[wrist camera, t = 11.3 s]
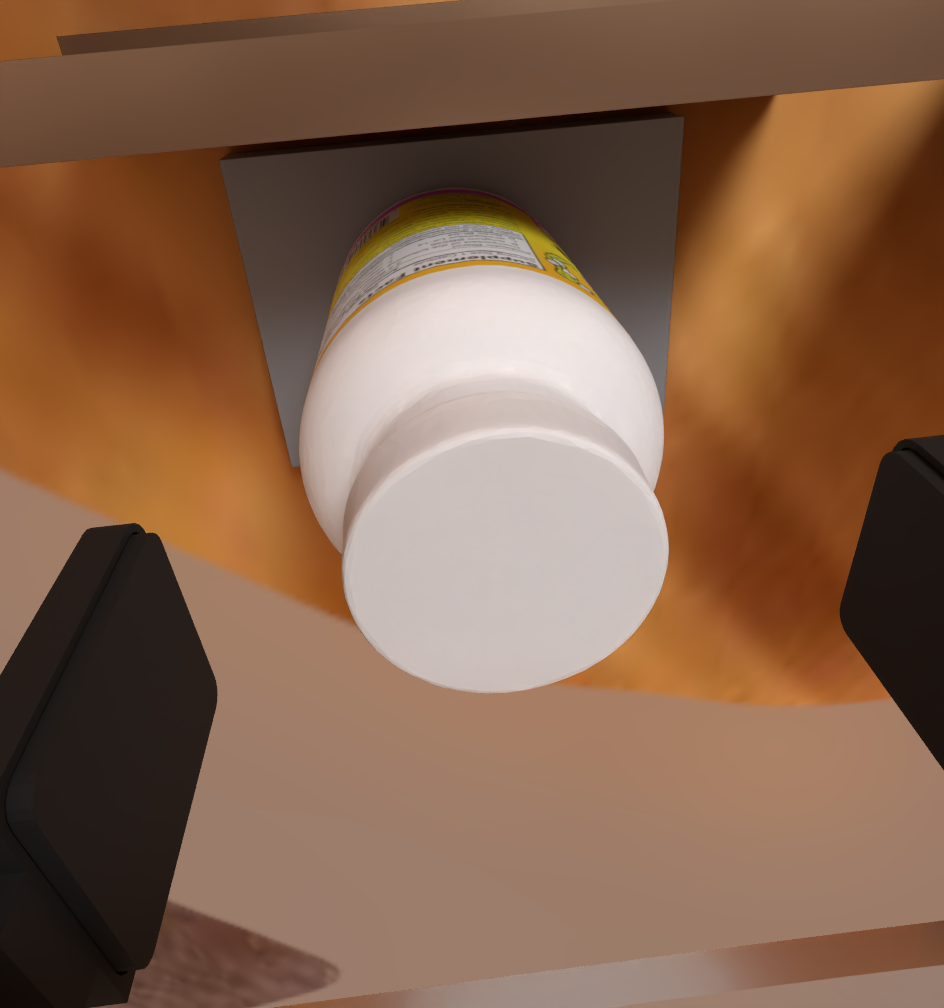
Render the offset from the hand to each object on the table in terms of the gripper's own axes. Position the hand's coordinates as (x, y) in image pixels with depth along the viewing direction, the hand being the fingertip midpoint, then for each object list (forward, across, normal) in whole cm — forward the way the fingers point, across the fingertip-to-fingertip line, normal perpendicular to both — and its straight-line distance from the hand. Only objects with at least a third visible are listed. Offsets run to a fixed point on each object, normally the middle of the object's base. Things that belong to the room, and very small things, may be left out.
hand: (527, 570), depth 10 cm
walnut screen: (+15, 0, -5) cm, 15 cm away
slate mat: (+14, 0, +1) cm, 14 cm away
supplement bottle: (+13, 0, +1) cm, 13 cm away
